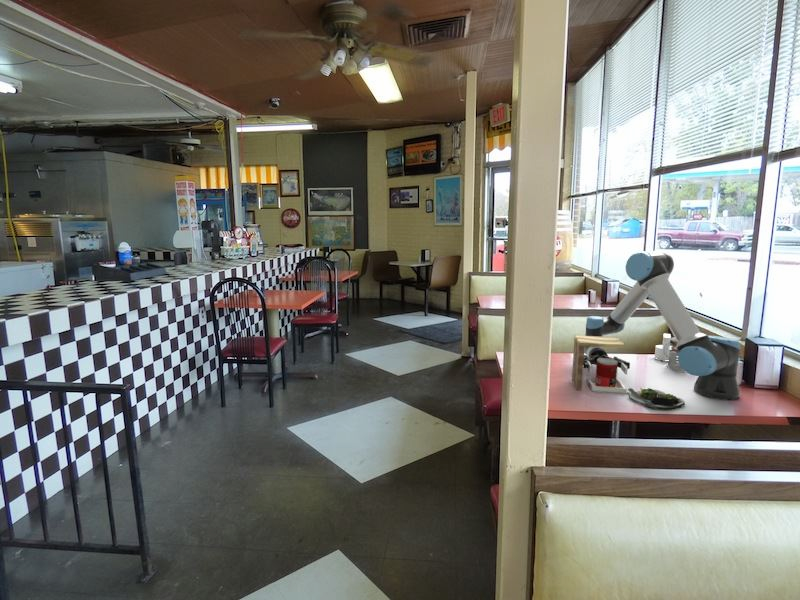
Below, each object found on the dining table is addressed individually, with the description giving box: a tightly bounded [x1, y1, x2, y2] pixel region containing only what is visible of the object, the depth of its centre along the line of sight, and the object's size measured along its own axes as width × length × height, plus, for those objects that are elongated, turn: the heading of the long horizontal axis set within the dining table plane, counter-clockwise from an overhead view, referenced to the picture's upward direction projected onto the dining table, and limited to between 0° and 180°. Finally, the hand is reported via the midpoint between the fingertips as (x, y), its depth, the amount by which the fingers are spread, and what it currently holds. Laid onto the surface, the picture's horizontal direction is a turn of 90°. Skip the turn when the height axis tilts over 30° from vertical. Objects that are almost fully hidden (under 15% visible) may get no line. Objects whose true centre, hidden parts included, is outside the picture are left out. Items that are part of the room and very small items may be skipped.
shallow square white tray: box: [585, 375, 628, 395], centre depth 190 cm, size 13×13×2 cm
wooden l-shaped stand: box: [571, 334, 626, 391], centre depth 189 cm, size 12×17×20 cm
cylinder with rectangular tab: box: [654, 333, 676, 361], centre depth 227 cm, size 9×9×12 cm
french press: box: [664, 336, 686, 373], centre depth 211 cm, size 10×12×25 cm
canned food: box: [595, 358, 618, 387], centre depth 189 cm, size 8×8×11 cm
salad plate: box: [627, 387, 685, 411], centre depth 176 cm, size 19×18×5 cm
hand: (608, 370), depth 186 cm, fingers open, 13 cm apart
